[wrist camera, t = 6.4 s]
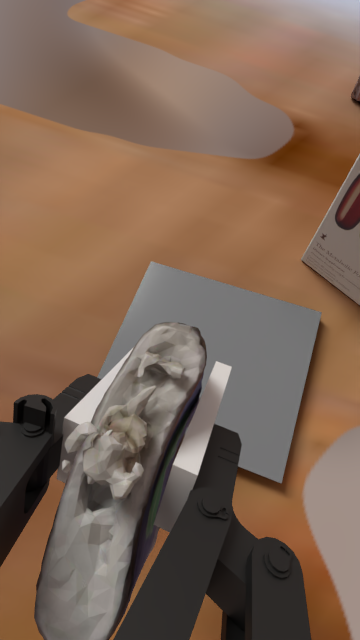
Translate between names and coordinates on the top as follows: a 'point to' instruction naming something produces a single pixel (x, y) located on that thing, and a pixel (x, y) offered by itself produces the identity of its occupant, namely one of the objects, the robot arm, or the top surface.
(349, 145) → the top surface
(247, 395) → the slate board
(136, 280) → the top surface
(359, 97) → the food item
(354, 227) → the supplement box
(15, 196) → the top surface
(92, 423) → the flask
